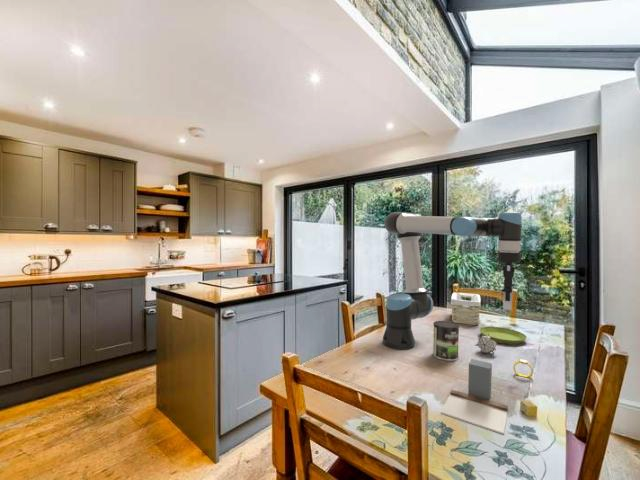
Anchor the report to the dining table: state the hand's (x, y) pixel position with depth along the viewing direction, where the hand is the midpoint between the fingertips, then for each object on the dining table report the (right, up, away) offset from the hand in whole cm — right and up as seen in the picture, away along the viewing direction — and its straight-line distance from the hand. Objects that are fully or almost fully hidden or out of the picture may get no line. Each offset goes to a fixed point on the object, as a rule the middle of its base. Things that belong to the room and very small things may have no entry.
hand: (507, 305), depth 118 cm
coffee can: (-19, -25, +13) cm, 34 cm away
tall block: (-22, -26, -20) cm, 39 cm away
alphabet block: (-11, -26, -28) cm, 40 cm away
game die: (+1, -25, +17) cm, 30 cm away
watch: (+3, -26, -5) cm, 26 cm away
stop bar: (-24, -26, -23) cm, 42 cm away
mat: (-28, -26, -29) cm, 48 cm away
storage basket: (+17, -24, +70) cm, 76 cm away
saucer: (+19, -25, +36) cm, 48 cm away
